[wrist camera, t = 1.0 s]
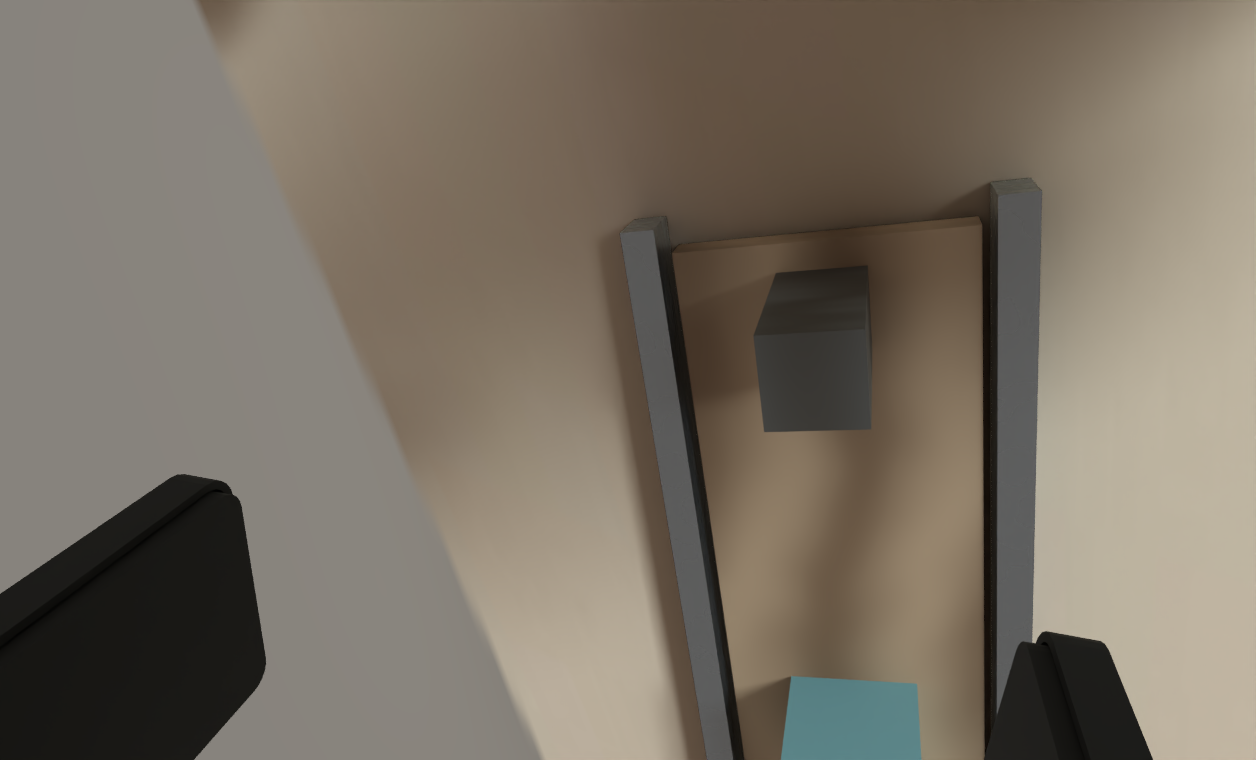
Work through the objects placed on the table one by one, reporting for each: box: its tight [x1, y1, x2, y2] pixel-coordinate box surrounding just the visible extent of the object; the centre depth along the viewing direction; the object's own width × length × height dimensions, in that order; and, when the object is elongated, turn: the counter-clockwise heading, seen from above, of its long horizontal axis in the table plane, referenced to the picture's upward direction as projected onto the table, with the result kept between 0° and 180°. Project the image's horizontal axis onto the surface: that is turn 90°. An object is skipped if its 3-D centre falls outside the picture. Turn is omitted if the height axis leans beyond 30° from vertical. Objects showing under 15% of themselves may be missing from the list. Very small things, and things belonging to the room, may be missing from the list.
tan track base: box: [672, 216, 985, 760], centre depth 32 cm, size 10×30×7 cm, turn 9°
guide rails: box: [620, 178, 1042, 760], centre depth 34 cm, size 13×32×2 cm, turn 9°
